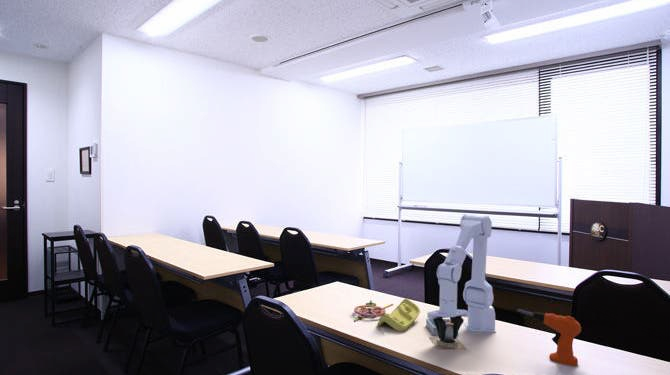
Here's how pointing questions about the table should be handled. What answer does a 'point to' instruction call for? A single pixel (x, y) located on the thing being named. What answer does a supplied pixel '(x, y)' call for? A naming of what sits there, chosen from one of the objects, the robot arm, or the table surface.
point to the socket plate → (447, 344)
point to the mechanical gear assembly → (370, 310)
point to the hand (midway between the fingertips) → (447, 338)
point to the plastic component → (401, 316)
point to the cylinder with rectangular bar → (448, 332)
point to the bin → (432, 326)
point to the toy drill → (560, 335)
